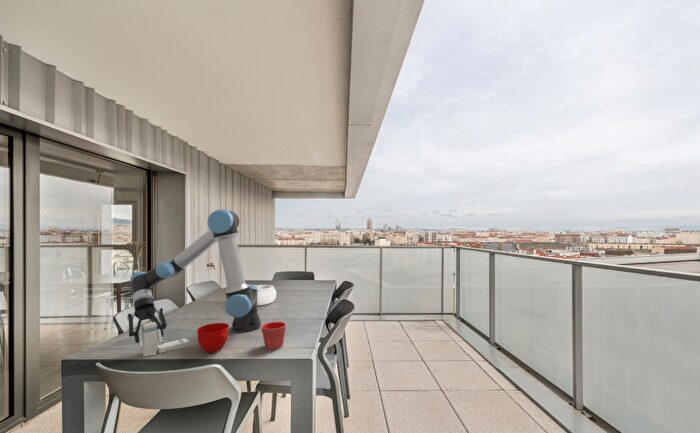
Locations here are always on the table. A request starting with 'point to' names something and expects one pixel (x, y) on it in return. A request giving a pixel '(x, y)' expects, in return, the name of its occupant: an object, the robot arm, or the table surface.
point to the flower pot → (273, 335)
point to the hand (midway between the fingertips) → (151, 345)
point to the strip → (173, 345)
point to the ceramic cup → (213, 336)
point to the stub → (149, 338)
